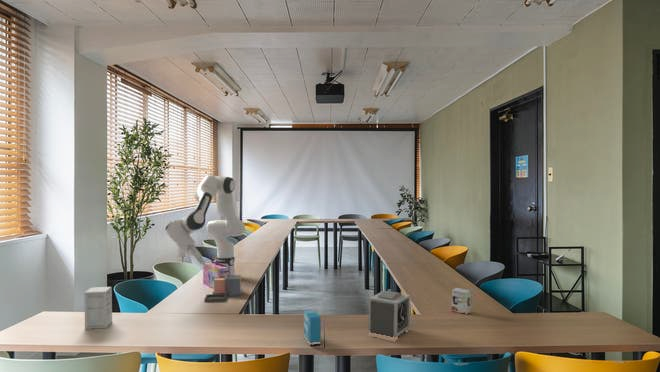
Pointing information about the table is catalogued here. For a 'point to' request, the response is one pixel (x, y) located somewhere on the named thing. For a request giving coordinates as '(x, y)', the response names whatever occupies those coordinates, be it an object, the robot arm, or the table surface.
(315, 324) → the data package
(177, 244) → the robot arm
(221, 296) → the tray
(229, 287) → the dispenser
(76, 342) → the table surface
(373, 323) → the alarm clock
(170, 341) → the table surface
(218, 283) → the salmon pink tall block
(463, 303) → the ink box
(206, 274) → the gum box
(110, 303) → the supplement box
